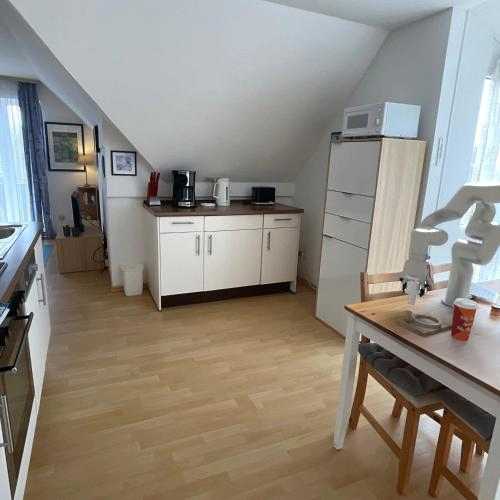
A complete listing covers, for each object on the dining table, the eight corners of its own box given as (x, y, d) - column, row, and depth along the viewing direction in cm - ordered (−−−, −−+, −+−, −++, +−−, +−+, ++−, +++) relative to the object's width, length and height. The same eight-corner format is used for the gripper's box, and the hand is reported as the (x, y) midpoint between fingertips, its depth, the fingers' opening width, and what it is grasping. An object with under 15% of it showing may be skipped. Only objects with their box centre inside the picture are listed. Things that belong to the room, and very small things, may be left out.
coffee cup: (459, 343, 137) (466, 306, 134) (442, 333, 145) (449, 298, 141) (476, 340, 140) (484, 304, 136) (459, 331, 147) (466, 296, 144)
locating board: (427, 315, 162) (429, 303, 161) (455, 327, 151) (457, 315, 150) (396, 323, 153) (398, 311, 151) (424, 336, 142) (426, 323, 140)
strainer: (421, 307, 163) (425, 275, 159) (404, 306, 164) (408, 274, 160) (417, 301, 169) (421, 270, 166) (401, 300, 171) (405, 269, 167)
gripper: (441, 258, 158) (435, 297, 162) (401, 251, 169) (397, 287, 174) (435, 262, 153) (430, 301, 157) (394, 254, 164) (390, 291, 169)
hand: (412, 293), depth 165 cm, fingers closed on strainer, 6 cm apart
